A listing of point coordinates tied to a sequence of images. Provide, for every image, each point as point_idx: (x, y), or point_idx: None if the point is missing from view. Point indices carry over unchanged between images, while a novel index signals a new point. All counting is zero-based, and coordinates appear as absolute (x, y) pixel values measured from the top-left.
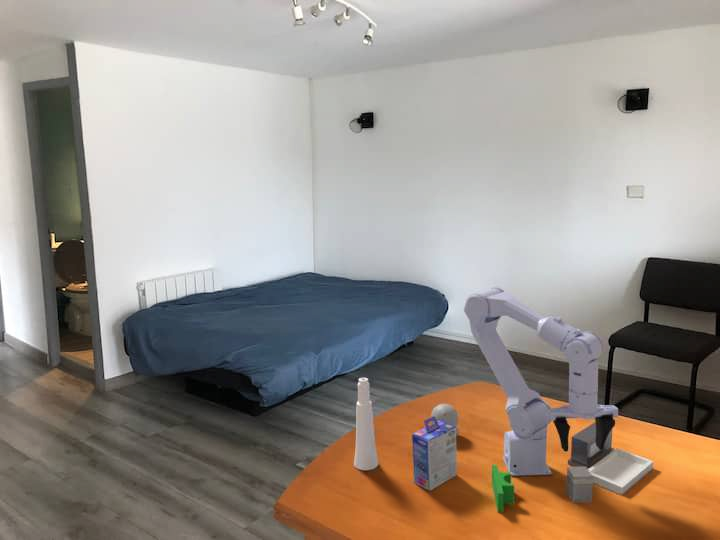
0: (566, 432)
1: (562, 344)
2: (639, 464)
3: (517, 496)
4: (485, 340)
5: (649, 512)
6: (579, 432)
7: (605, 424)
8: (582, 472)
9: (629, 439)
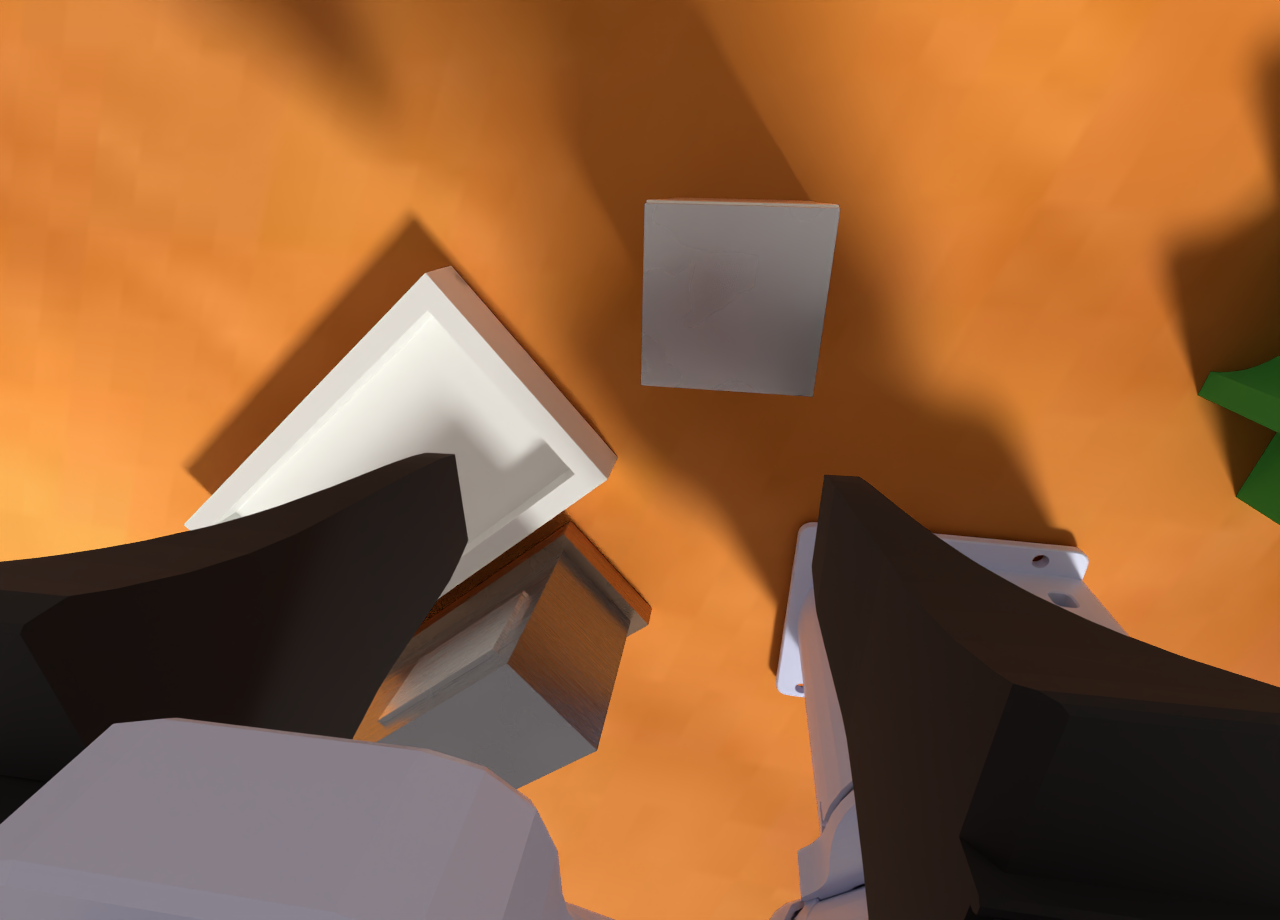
0: (978, 615)
1: None
2: None
3: (1193, 313)
4: None
5: (335, 44)
6: (519, 783)
7: (67, 593)
8: (715, 286)
9: None
